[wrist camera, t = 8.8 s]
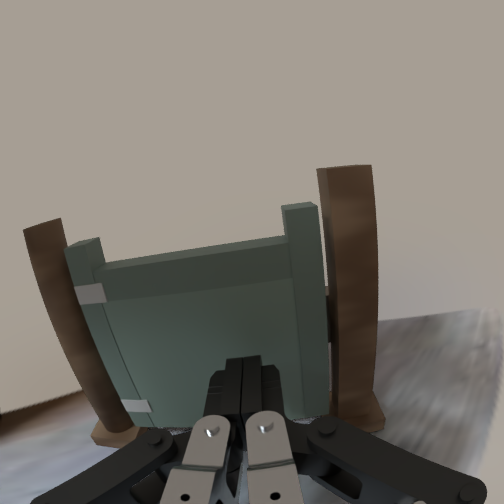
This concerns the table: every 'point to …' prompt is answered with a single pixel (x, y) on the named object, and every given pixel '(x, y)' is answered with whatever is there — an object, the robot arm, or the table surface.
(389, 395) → the table surface
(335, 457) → the robot arm
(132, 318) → the gate
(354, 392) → the post
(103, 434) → the hinge post
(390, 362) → the table surface
